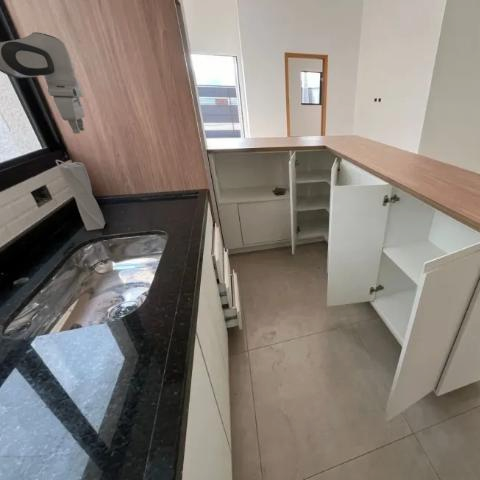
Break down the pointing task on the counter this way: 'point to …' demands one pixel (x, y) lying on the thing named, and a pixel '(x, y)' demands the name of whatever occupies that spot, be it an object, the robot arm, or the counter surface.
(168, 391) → the counter surface
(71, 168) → the grey twisted bar
